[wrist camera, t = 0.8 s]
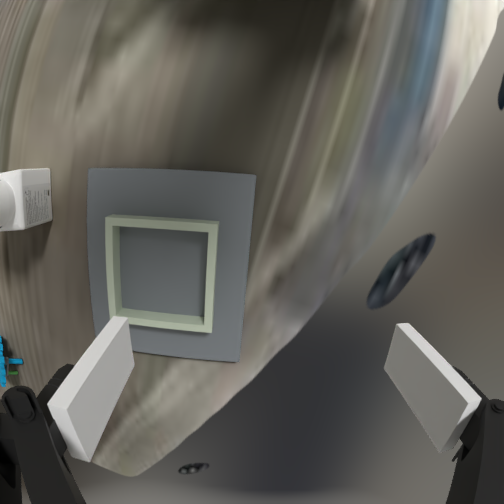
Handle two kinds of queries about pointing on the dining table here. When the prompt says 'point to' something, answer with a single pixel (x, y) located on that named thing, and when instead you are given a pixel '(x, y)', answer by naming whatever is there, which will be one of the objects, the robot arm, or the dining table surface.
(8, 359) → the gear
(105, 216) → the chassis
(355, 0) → the dining table surface
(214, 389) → the dining table surface
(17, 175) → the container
